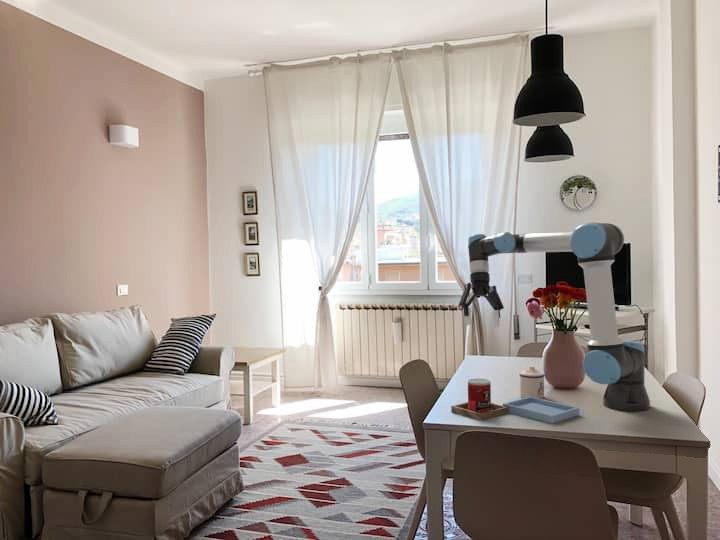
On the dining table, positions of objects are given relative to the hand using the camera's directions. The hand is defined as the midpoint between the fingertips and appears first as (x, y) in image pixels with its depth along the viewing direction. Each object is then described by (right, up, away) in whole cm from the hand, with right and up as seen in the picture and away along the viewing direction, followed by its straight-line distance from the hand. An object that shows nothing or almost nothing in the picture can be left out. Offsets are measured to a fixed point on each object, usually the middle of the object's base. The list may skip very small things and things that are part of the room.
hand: (483, 325), depth 230 cm
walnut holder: (-7, -27, -26) cm, 39 cm away
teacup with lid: (+18, -26, -5) cm, 32 cm away
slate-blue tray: (+14, -27, -28) cm, 42 cm away
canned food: (-7, -28, -26) cm, 39 cm away
